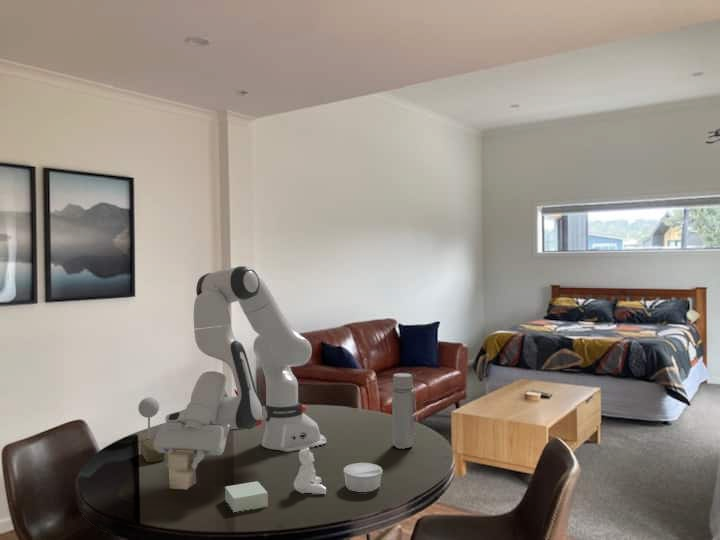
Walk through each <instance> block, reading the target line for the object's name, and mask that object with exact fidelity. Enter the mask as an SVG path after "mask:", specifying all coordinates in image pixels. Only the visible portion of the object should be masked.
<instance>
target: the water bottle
mask: <svg viewBox="0 0 720 540" xmlns="http://www.w3.org/2000/svg"><path fill="white" fill-rule="evenodd" d="M391 389H392V392H391V393H392V394H391V395H392V396H391V401H392V403H391V408H392V409H391V412H392V413H391V414H392V415H391V417H392V418H391V420H392V421H391V426H392V427H391V430H392V431H391V432H392V434H391V435H392V437H391V440H392V443H393V444H394V445H400V446H403V445H410V444H412V445H413V435H418V432H419V423H418V415H417V414H418V411H417V404H416V397H415V396H416V390H417V389H415V388H414V384H413V376H412V374H410V373H406V372H404V373H403V372H398V373H394V374H393V376H392V385H391ZM415 419H416V433H415V431H414V430H415V429H414V425H415V423H414V422H415ZM392 443H391V444H392Z"/></svg>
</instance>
